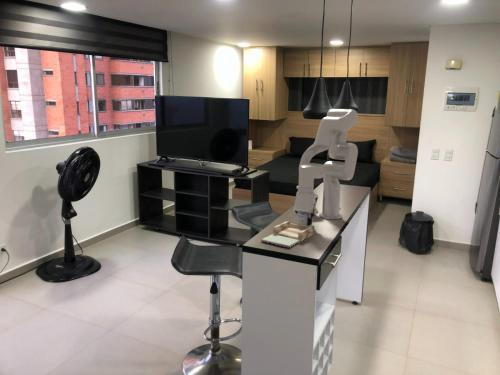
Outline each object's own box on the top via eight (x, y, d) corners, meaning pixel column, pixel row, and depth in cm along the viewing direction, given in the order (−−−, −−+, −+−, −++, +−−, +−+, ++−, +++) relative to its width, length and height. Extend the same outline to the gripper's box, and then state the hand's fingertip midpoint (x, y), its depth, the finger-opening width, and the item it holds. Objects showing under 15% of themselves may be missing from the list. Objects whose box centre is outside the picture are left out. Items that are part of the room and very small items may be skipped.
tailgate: (272, 233, 197) (260, 239, 189) (300, 239, 189) (288, 246, 180) (272, 236, 197) (260, 241, 189) (300, 242, 189) (288, 248, 180)
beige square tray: (287, 229, 209) (287, 220, 208) (314, 234, 200) (314, 225, 199) (272, 236, 197) (272, 227, 197) (300, 242, 189) (300, 233, 188)
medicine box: (305, 224, 216) (305, 208, 214) (312, 226, 213) (312, 210, 212) (296, 228, 210) (297, 212, 208) (304, 230, 207) (304, 213, 206)
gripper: (287, 188, 210) (286, 222, 213) (317, 193, 200) (316, 228, 204) (295, 186, 216) (294, 219, 219) (324, 190, 206) (322, 225, 210)
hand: (304, 223), depth 211 cm, fingers closed on medicine box, 4 cm apart
